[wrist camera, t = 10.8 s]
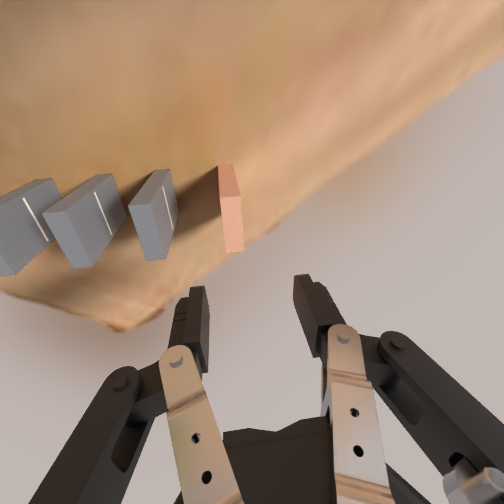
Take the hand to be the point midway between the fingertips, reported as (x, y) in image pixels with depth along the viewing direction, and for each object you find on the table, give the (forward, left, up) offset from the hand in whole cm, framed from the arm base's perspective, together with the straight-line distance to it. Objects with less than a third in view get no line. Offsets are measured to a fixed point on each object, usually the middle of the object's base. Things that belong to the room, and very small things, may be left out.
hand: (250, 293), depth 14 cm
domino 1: (+19, 0, -18) cm, 26 cm away
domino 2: (+13, 0, -18) cm, 22 cm away
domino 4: (0, 0, -18) cm, 18 cm away
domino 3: (+7, 0, -18) cm, 19 cm away
